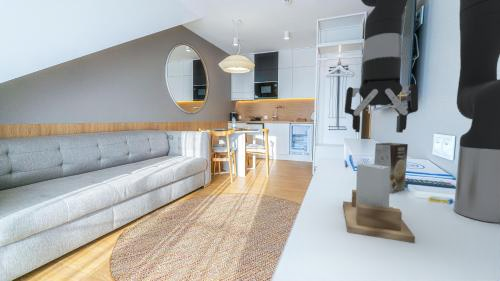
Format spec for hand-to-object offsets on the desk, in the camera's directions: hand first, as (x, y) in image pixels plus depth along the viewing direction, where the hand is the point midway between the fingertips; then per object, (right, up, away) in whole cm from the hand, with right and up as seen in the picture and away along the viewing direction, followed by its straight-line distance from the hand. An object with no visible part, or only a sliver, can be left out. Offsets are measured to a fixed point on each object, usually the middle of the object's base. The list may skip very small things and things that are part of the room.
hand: (377, 132), depth 51 cm
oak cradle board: (0, -21, +2) cm, 21 cm away
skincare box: (-1, -20, +2) cm, 20 cm away
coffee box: (+19, -19, +26) cm, 38 cm away
